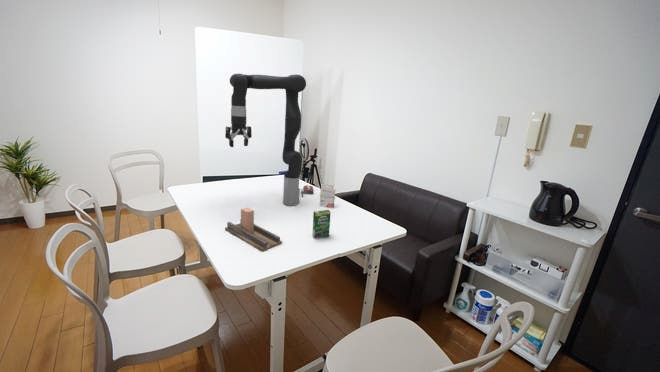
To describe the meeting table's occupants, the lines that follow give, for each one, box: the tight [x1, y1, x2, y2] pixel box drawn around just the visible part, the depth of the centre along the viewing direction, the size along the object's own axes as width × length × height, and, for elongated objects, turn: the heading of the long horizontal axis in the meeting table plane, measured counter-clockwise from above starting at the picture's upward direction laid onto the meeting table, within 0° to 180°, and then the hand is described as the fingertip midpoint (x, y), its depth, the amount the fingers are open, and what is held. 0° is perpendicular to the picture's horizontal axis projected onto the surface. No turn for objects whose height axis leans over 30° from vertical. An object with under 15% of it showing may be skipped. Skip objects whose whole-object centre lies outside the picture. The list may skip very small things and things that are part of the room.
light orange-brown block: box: [240, 207, 255, 233], centre depth 135 cm, size 4×5×11 cm
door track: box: [224, 218, 283, 252], centre depth 134 cm, size 11×28×4 cm, turn 51°
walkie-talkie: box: [300, 185, 314, 197], centre depth 203 cm, size 9×4×20 cm
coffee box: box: [312, 209, 331, 239], centre depth 139 cm, size 8×3×13 cm, turn 114°
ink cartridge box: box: [319, 183, 336, 209], centre depth 180 cm, size 9×5×15 cm, turn 76°
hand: (238, 146), depth 153 cm, fingers open, 8 cm apart
